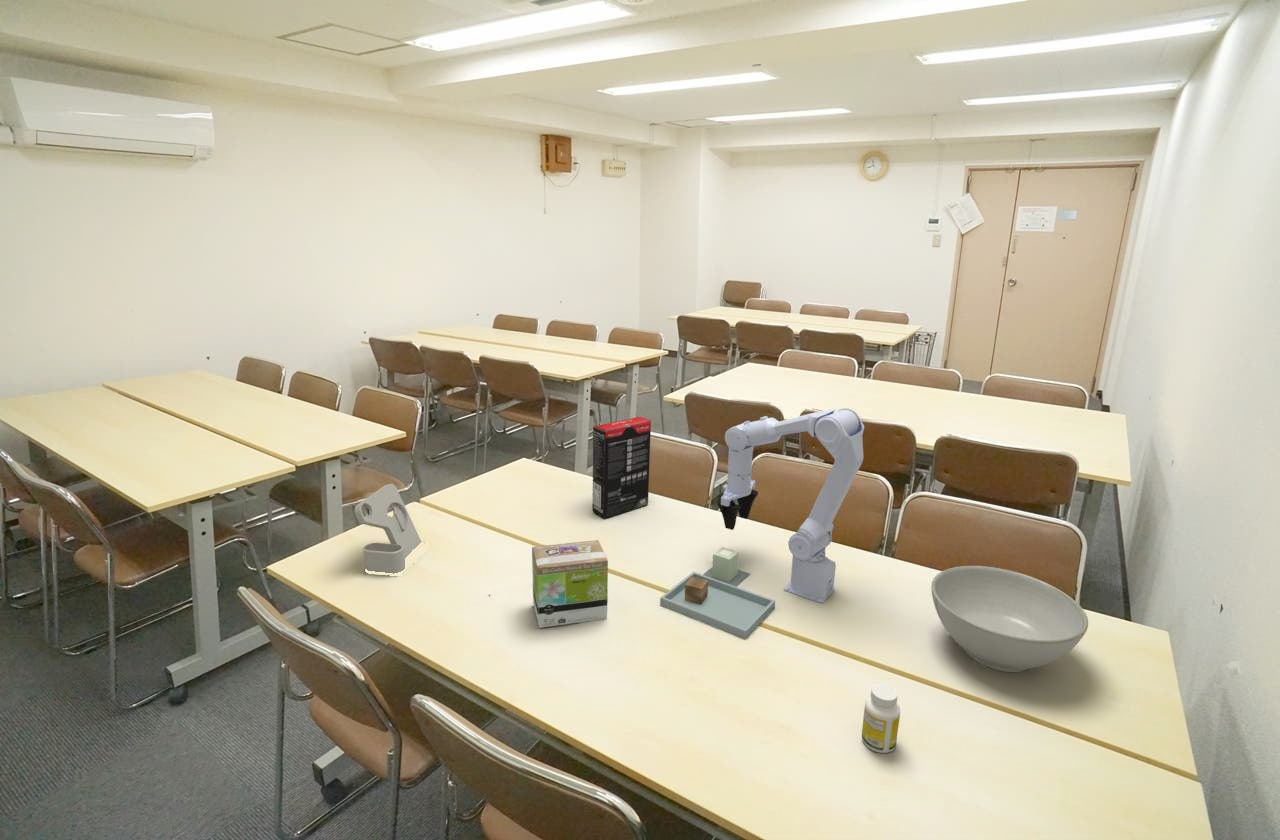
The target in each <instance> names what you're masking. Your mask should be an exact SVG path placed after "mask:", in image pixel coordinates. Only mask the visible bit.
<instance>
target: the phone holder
mask: <svg viewBox="0 0 1280 840" xmlns="http://www.w3.org/2000/svg"><path fill="white" fill-rule="evenodd" d="M389 507H390V508H391V510H392V513H393V514H392V516H389V515H388V511H389ZM362 508H363V510H364V512H365V516H364V514H363V511H362ZM354 515H355V517H356V519H357V521H358V523H359V524H361V525H365V526H369V527H375V528H379V529H382V530H383V531H384V532H385V534H386V536H387V539H388V541H389V543H385V542H384V543H383V542H371V543H368V544H366V545H364V546H363V548H362V551H363V558H364V567H365V568H366V569H367V570H368V571H375V572H385V573H393V574H394V573H398V572H401V571H403V570H404V569H405V558H406V557H407V556H408V555H409V554H410V553H411V552H412V550H413V549H415V548H416V547H417V546H418V545H419V544H420V543H421V542H422V540H421V538H420V535H419V533H418V531H417V529H416V527H415V525H414V522H413V520H412V518H411V516H410V514H409V512H408V509H407V507H406V505H405V503H404V501H403V498H402V497H401V495H400V492H399V489H398V488H397V486H396V485H395V484H394V483H388V484H384V485H383V486H382V487H380V488H379V489H377V490H376V491H375V492H373V493H371V494H370V495H368V496H367V497H366V498H365V499H363V500H362V501H360V502H359V503H358V504H356V506H355V507H354Z"/></svg>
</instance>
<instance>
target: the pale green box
mask: <svg viewBox="0 0 1280 840" xmlns="http://www.w3.org/2000/svg"><path fill="white" fill-rule="evenodd" d="M739 554H740V553H739V551H737V550H732V549H730V548H727V547H723V546H722V547H720V548H719V549H718V550H716V551H715V552H714V553H713V554H712V566H711V568H712V577H715V578H718V579H721V580H724V581H726V582H729V581H731V580H732V579H733V578H734V577H735V576H736V575H737V574H738V570H739V557H740V556H739Z"/></svg>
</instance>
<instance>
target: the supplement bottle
mask: <svg viewBox="0 0 1280 840" xmlns="http://www.w3.org/2000/svg"><path fill="white" fill-rule="evenodd" d="M864 703H865V704H864V711H863V718H862V719H863V720H862V726H861V727H862V728H861V739H862V742H863V744H864V745H865V746H866V747H867V748H868V749H870V750H871V751H873V752H877V753H880V754H887V753H890V752H892V751H895V749H896V746H897V740H898V732H899V726H900V724H899V723H900V717H901V708H900V706H899V704H898V692H897V690H896V689H895V688H894V687H892V686H890V685H889V684H885V683H876V684H874V685H872V686H871V689H870V695H869V696H868V697H867V698H866V700H865V702H864Z"/></svg>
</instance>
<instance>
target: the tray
mask: <svg viewBox="0 0 1280 840" xmlns="http://www.w3.org/2000/svg"><path fill="white" fill-rule="evenodd" d="M691 577H696V578H700V579H704V580H708V596H707V598H706V599H705V600H704V602H703V603H702V605H700V604H696V603H693V602H689V601H685V584H686V583H687V582H688V581H689V579H690V578H691ZM659 600H660V601H659V606H661V607H664V608H666V609H669V610H672V611H674V612H677V613H679V614H682V615H684V616H687V617H689V618H692V619H694V620H696V621H699V622H702V623H704V624H706V625H709V626H711V627H715V628H716V629H719V630H722V631H724V632H727V633H730V634H731V635H734V636H737V637H739V638H741V639H745V640H747V639H748V637H750V635H751V634H752V633H753V632H754V631H755V630H756V628H757V627H759V626H760V625H761V624H762V622H763V621H764V620H766V618H767V617H768V616H769V615H770V614H772V611H774V610H775V609H776V600H775V599H772V598H768V597H767V596H763V595H761V594H758V593H755V592H752V591H749V590H746V589H744V588H741V587H738V586H737V587H735V586H733V585H730V584H727V583H724V582H721V581H718V580H716V579H713V578H710V577H707V576H704V575H703V574H701V573H698V572H695V571H693V572H691V573H690V574H688V575H687V576H686V577H685V578H683V580H681V581H680V582H678V583H677V584H676V585H675V586H673V587H672V588H671V589H670V590H668V591H666V592H665V593H664V594H663V595H662V596H661V597H659Z"/></svg>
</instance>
